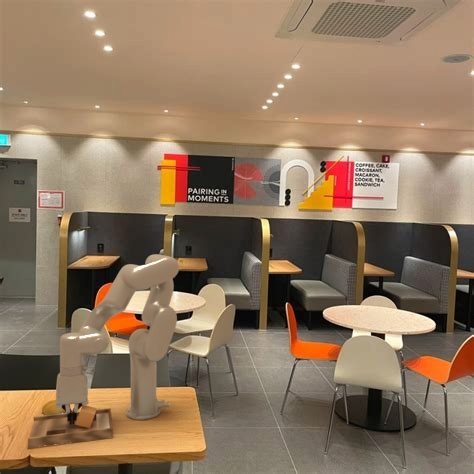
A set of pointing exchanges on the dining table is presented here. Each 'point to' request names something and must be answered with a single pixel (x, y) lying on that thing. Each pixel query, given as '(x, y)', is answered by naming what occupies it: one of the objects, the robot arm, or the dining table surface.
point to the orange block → (86, 416)
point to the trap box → (69, 429)
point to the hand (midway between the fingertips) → (72, 422)
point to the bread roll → (51, 408)
